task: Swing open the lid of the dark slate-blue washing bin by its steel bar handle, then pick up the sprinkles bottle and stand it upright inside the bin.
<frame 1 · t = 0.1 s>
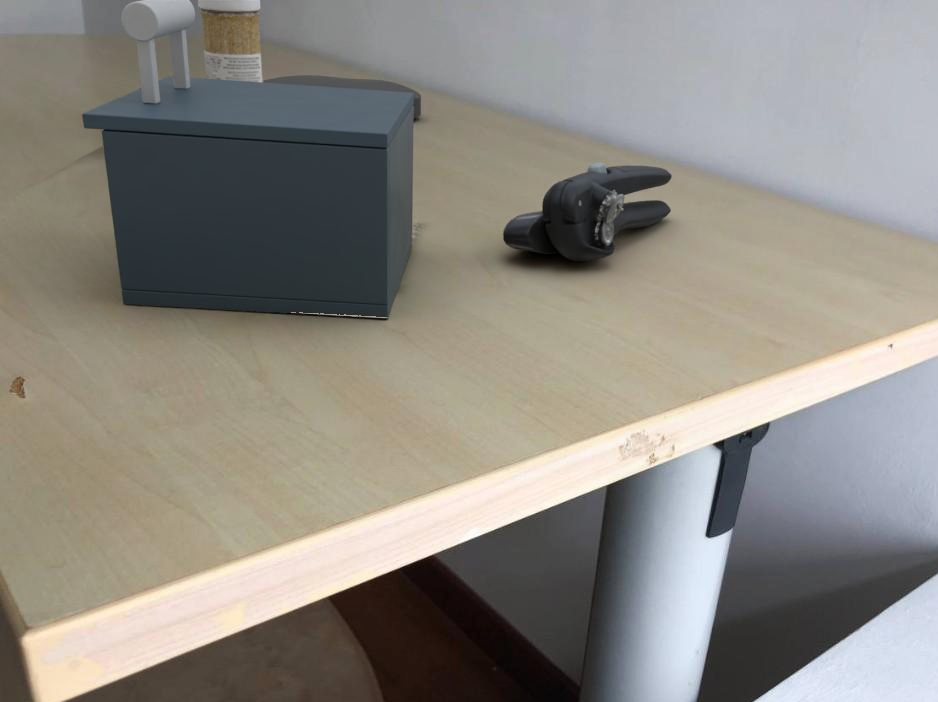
washing bin: (282, 273, 57), on the table
can opener: (605, 243, 67), on the table
bin lid: (264, 61, 51), point 12 cm above the table, hinge at 0.0°
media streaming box: (336, 115, 102), on the table
sprinkles bottle: (239, 161, 81), on the table
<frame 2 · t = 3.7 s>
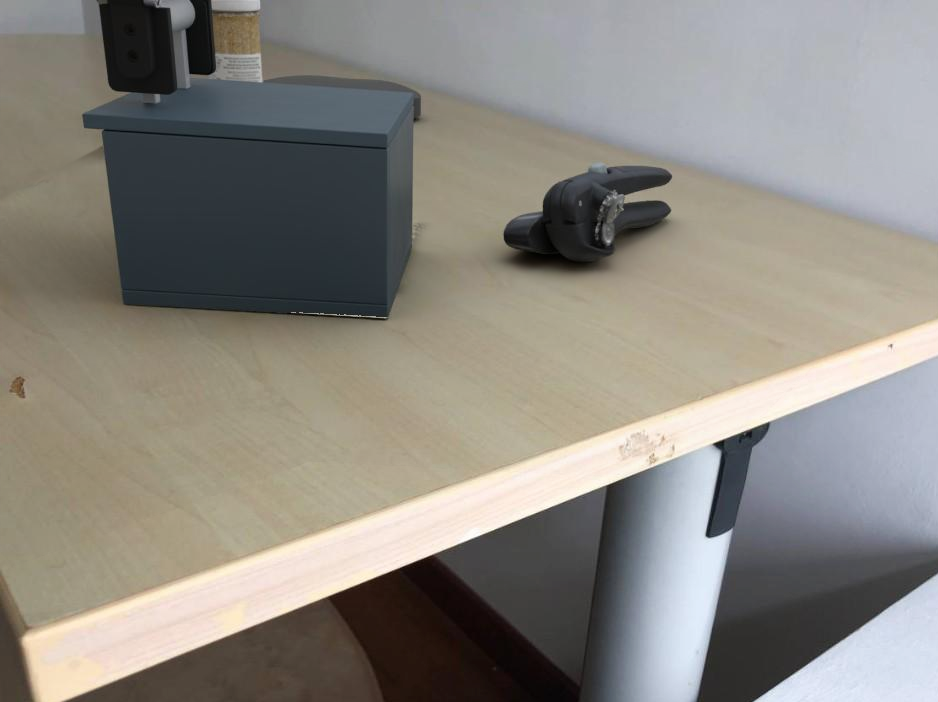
hand: (166, 78, 52), 10 cm above the table, tool pointing down, fingers closed on bin lid, 6 cm apart
bin lid: (264, 61, 51), point 12 cm above the table, hinge at 0.0°, touching gripper
everything else where it was.
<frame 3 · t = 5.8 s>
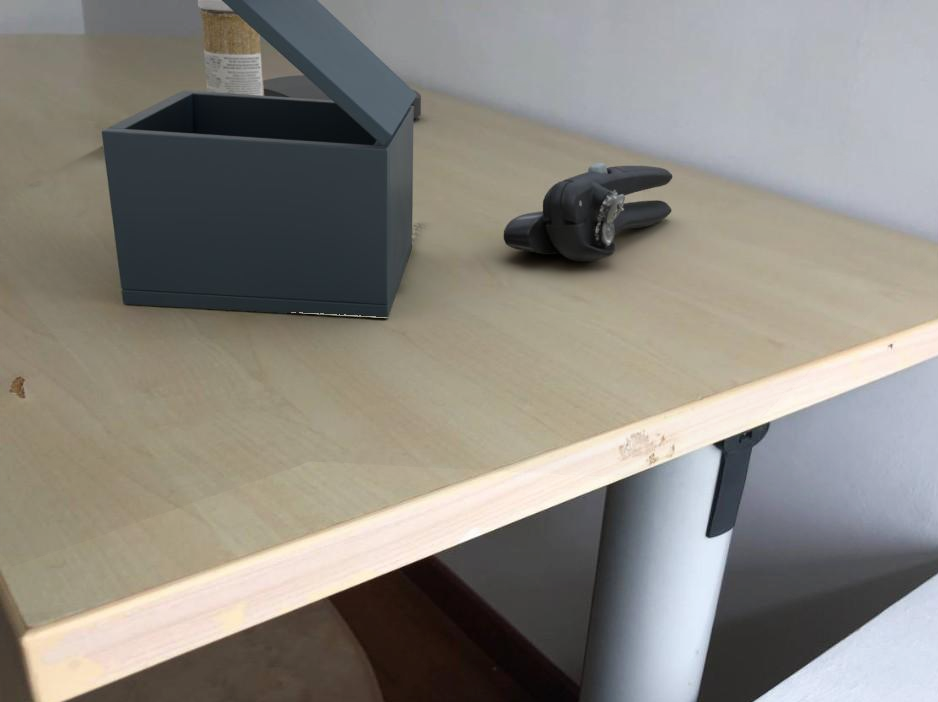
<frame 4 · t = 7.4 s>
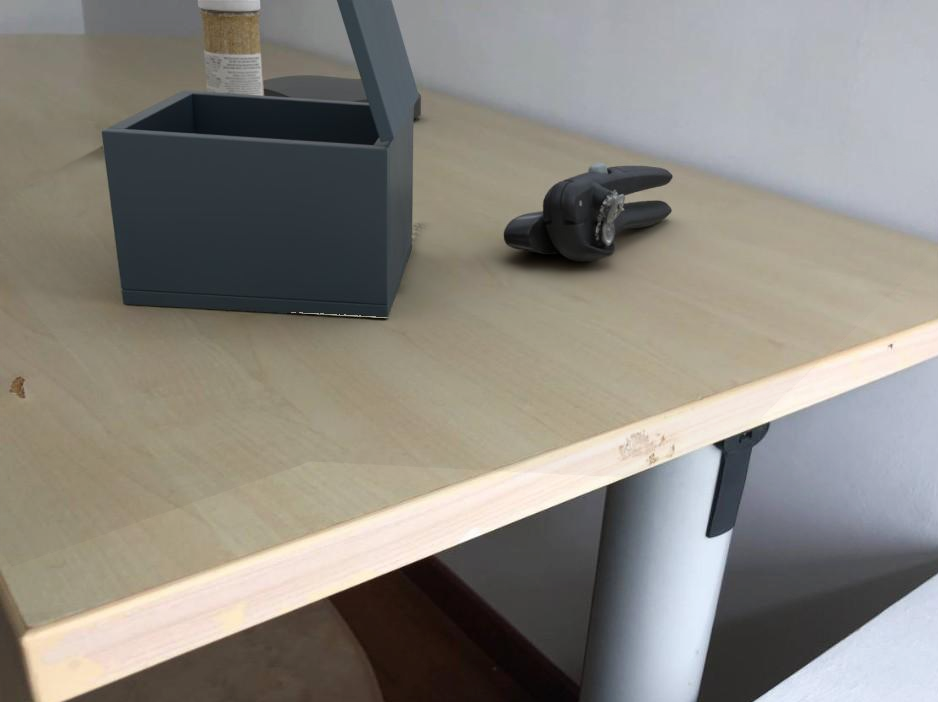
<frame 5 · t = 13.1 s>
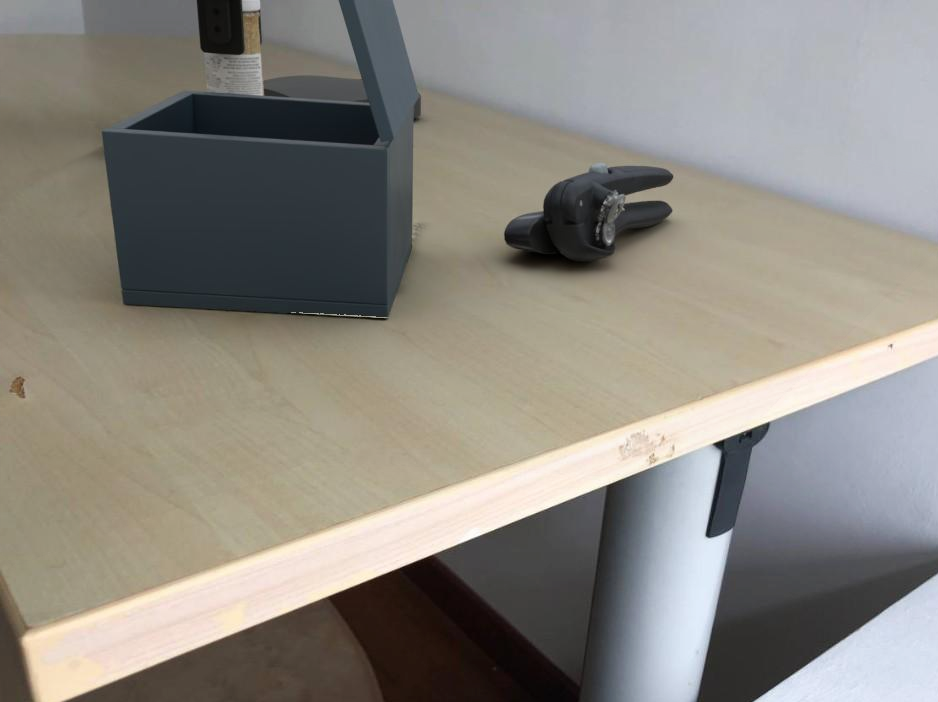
hand: (232, 46, 77), 9 cm above the table, tool pointing down, fingers closed on sprinkles bottle, 4 cm apart
sprinkles bottle: (239, 161, 81), on the table, touching gripper
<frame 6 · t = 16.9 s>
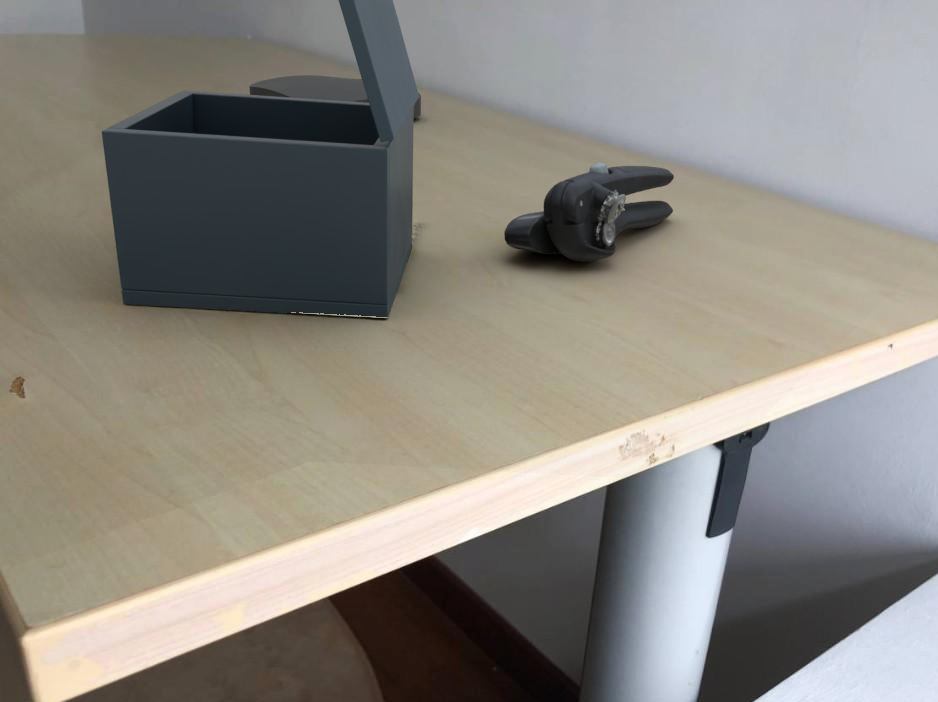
when the fingers open (10 cm above the table, at t = 21.0 s): sprinkles bottle stays where it is, resting on washing bin.
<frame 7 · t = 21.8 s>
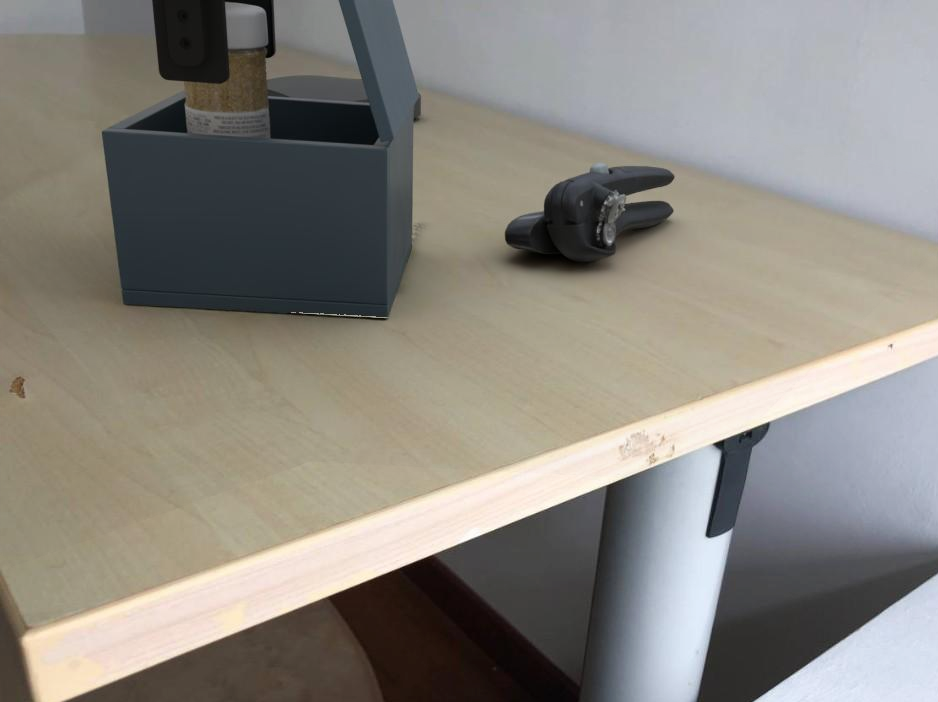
hand: (223, 67, 52), 11 cm above the table, tool pointing down, fingers open, 9 cm apart
sprinkles bottle: (238, 260, 56), point 1 cm above the table, touching washing bin
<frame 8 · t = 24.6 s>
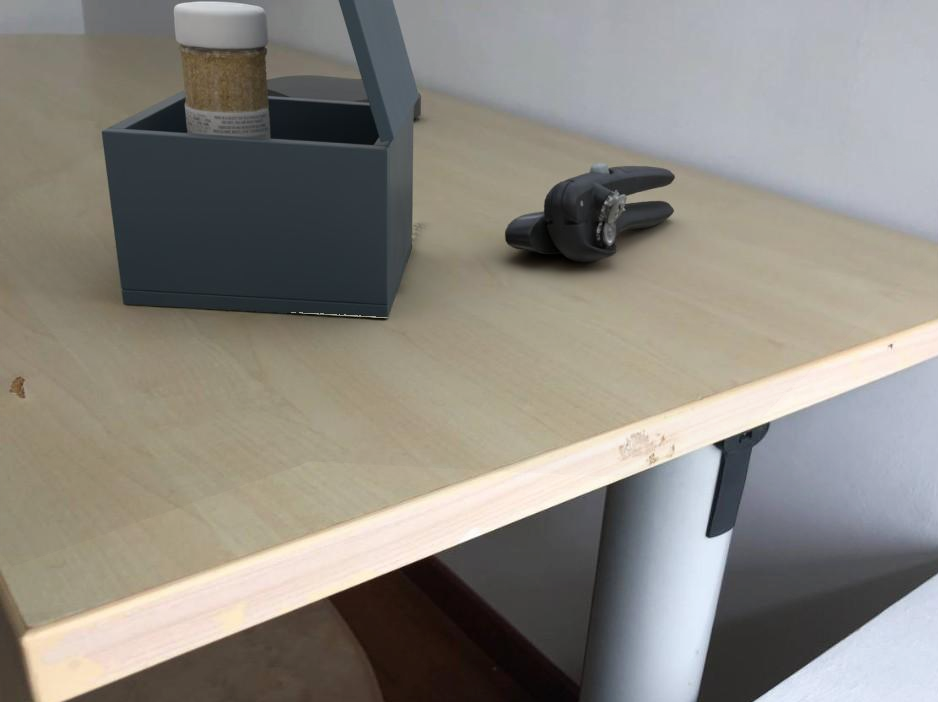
at the end: bin lid at +73° (first picture: +0°); sprinkles bottle inside the target area in the washing bin (2.5 cm from its centre), point 0.6 cm above the washing bin's base; sprinkles bottle tilted 0° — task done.
